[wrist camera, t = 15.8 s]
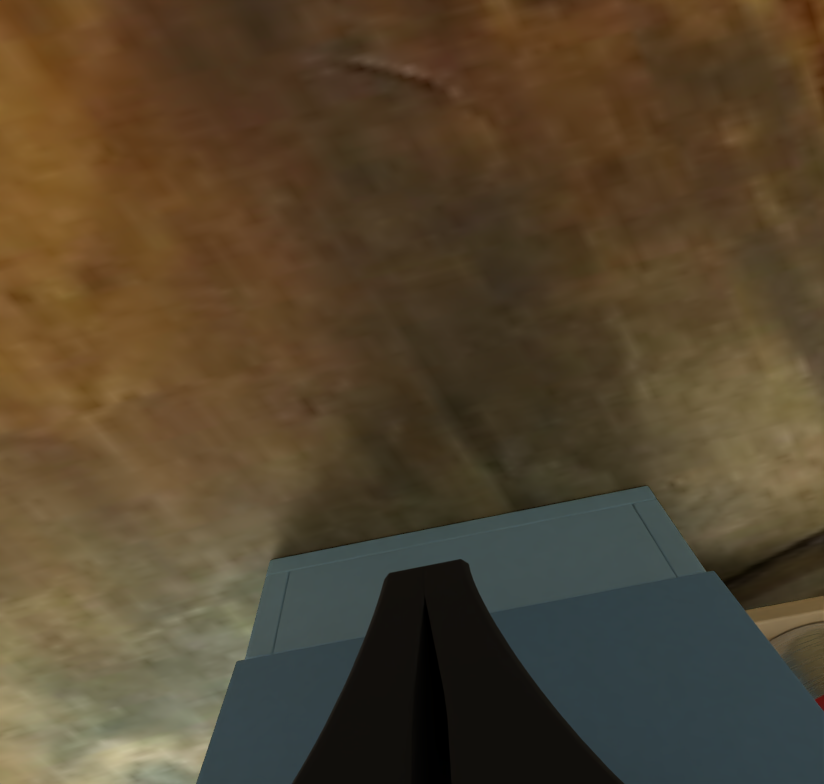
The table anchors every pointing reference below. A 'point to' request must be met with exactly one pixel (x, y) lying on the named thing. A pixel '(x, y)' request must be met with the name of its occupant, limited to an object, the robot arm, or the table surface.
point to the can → (805, 656)
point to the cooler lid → (579, 691)
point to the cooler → (476, 565)
